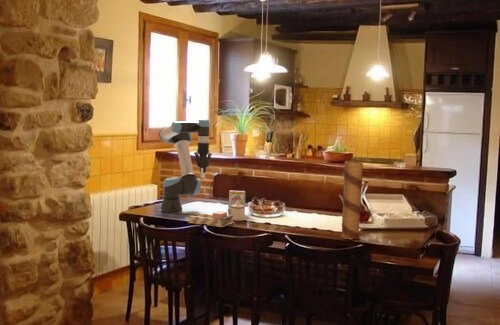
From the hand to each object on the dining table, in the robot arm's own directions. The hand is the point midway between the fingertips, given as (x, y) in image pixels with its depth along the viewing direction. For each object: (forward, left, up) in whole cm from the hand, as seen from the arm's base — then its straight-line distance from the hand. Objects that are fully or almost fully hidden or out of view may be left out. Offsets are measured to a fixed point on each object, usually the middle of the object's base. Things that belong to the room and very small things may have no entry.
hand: (202, 177), depth 386 cm
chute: (+17, -17, -26) cm, 35 cm away
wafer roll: (+106, -11, -27) cm, 110 cm away
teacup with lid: (+24, +3, -27) cm, 36 cm away
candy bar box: (+17, +18, -27) cm, 36 cm away
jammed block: (+23, -17, -25) cm, 38 cm away
